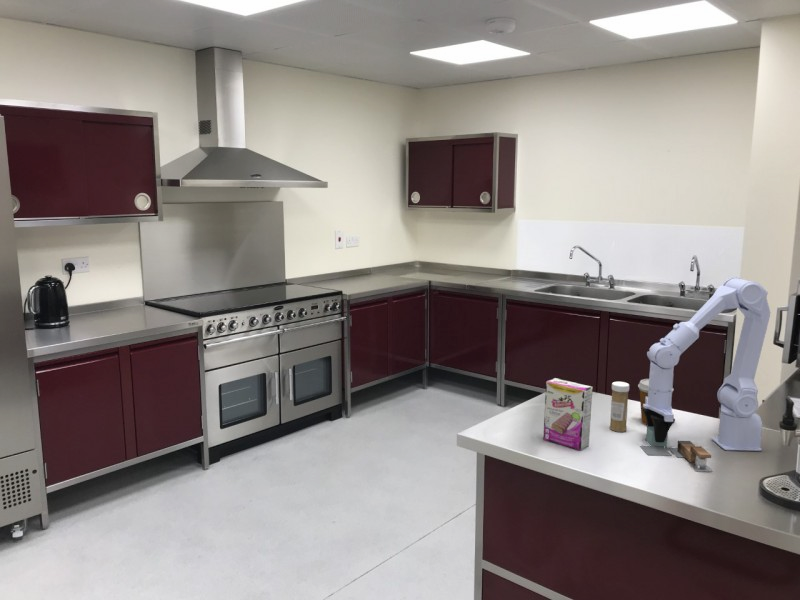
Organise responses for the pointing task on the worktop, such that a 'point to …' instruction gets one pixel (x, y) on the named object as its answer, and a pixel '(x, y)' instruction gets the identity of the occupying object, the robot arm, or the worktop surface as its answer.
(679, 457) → the foot pad
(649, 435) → the block
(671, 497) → the worktop surface
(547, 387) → the candy bar box
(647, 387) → the disposable coffee cup
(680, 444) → the leg
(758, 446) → the robot arm
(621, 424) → the sprinkles bottle
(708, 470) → the flanged metal stem
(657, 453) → the seat pad
